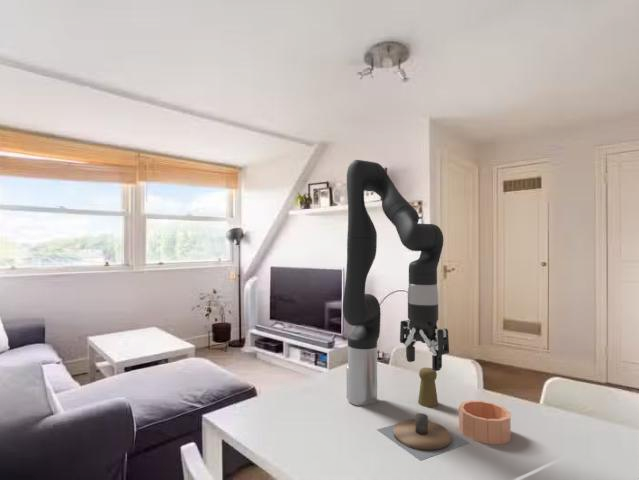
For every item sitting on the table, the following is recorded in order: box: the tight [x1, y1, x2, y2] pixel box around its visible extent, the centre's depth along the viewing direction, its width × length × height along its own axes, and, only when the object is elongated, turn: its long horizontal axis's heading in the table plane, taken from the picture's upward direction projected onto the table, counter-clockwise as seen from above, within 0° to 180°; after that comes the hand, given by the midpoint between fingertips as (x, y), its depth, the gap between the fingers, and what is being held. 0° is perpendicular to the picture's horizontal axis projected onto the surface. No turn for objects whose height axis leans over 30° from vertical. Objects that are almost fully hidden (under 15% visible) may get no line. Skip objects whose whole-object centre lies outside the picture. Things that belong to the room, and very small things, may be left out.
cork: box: [417, 367, 439, 408], centre depth 114 cm, size 6×6×11 cm
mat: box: [376, 419, 470, 462], centre depth 94 cm, size 16×16×1 cm
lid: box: [393, 412, 451, 451], centre depth 94 cm, size 14×14×5 cm
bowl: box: [458, 399, 512, 445], centre depth 96 cm, size 12×12×6 cm
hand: (423, 365), depth 94 cm, fingers open, 8 cm apart
